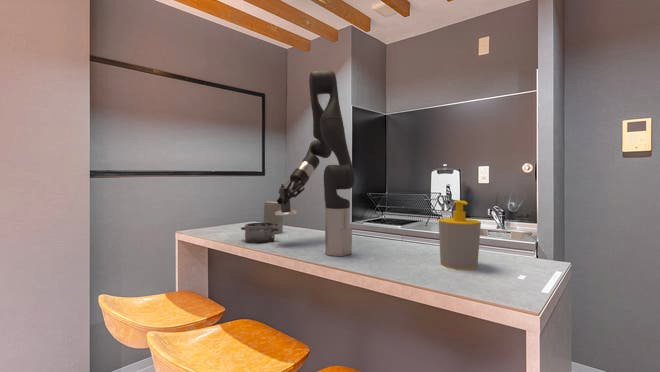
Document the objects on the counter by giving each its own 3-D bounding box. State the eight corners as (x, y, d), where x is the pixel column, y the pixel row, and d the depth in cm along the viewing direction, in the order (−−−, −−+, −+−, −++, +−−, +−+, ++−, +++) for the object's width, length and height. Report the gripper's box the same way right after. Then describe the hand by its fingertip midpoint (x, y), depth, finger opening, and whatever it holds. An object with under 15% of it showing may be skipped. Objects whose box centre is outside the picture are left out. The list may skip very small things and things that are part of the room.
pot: (283, 238, 158) (283, 223, 158) (272, 244, 146) (272, 227, 146) (248, 237, 162) (248, 222, 162) (235, 242, 150) (235, 226, 149)
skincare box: (262, 233, 172) (262, 202, 172) (269, 231, 179) (269, 201, 179) (278, 234, 170) (278, 202, 169) (284, 232, 177) (284, 201, 176)
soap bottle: (453, 271, 105) (454, 202, 104) (430, 261, 118) (430, 199, 117) (489, 268, 109) (490, 201, 108) (462, 258, 121) (463, 198, 120)
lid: (301, 212, 146) (299, 186, 145) (284, 216, 139) (282, 190, 138) (287, 211, 152) (285, 186, 151) (270, 215, 145) (268, 189, 144)
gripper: (287, 168, 155) (265, 196, 146) (308, 167, 145) (286, 197, 136) (296, 179, 159) (275, 208, 150) (317, 179, 149) (296, 210, 141)
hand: (281, 203), depth 143 cm, fingers closed on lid, 2 cm apart
